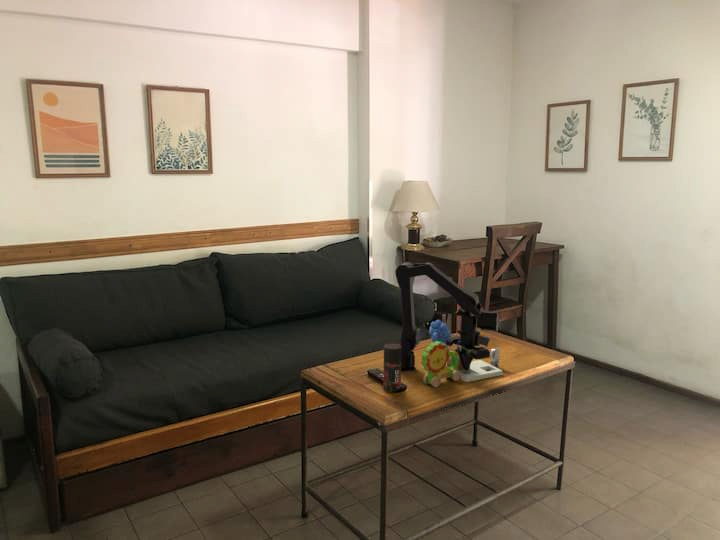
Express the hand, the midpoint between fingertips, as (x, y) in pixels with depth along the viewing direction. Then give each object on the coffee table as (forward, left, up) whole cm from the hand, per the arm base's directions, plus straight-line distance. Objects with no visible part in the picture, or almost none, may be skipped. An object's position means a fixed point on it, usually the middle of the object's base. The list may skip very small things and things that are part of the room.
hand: (466, 370), depth 209 cm
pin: (+16, +3, -3) cm, 16 cm away
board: (+5, +2, -3) cm, 6 cm away
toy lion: (-12, -1, -3) cm, 12 cm away
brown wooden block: (0, +5, 0) cm, 5 cm away
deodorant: (-29, +2, -3) cm, 30 cm away
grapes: (+9, +30, -3) cm, 32 cm away
